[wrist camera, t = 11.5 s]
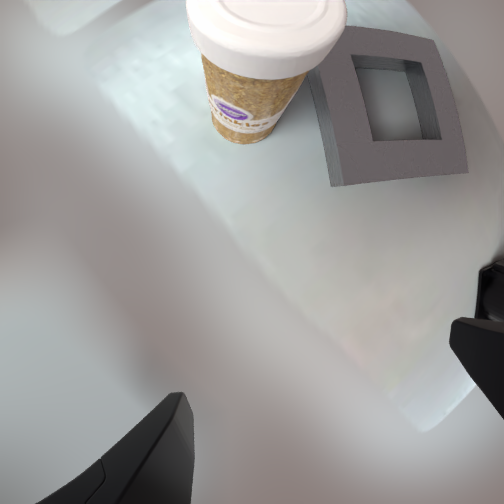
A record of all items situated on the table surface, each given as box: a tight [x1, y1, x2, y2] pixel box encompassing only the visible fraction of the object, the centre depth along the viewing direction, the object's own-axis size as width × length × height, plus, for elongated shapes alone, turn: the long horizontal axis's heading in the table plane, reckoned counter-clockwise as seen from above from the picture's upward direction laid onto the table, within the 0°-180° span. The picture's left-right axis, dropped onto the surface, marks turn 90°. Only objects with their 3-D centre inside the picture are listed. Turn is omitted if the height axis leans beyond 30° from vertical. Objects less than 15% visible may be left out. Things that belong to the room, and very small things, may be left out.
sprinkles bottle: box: [186, 0, 347, 144], centre depth 12 cm, size 5×5×13 cm
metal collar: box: [307, 26, 469, 187], centre depth 17 cm, size 12×12×2 cm
